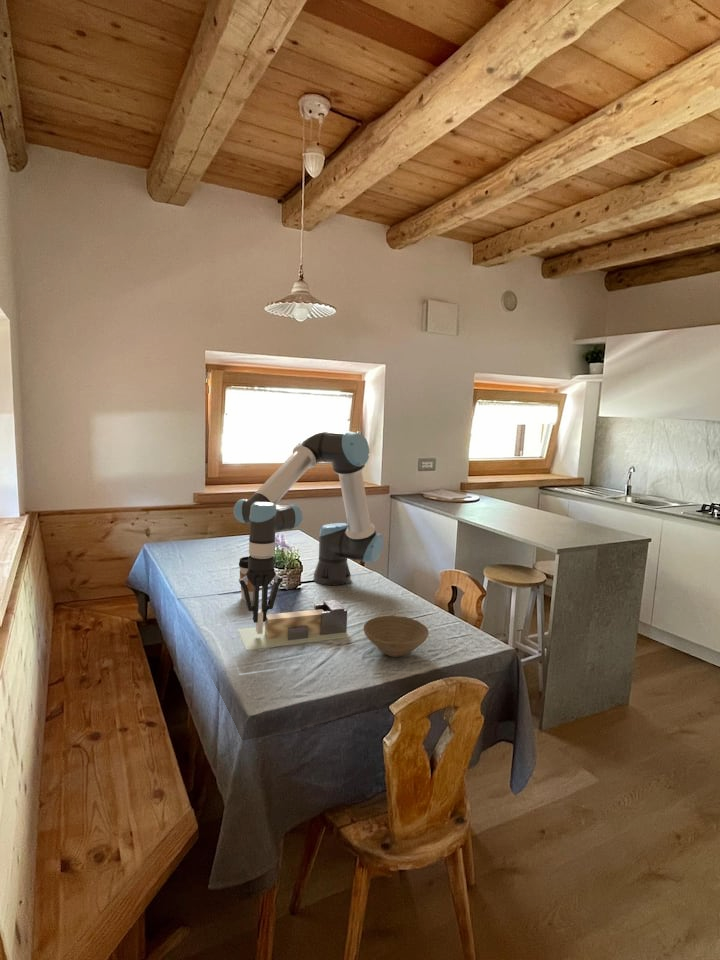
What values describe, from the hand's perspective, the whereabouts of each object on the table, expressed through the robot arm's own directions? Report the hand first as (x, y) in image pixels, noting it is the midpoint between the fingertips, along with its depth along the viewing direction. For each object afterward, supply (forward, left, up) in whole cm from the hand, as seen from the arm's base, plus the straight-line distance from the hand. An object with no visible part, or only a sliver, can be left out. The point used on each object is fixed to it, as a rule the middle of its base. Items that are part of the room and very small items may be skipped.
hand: (259, 631), depth 158 cm
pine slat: (-11, 0, -2) cm, 11 cm away
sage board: (-11, 0, -2) cm, 11 cm away
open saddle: (-11, 0, -2) cm, 11 cm away
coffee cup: (-4, -34, -2) cm, 34 cm away
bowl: (-35, +21, -2) cm, 41 cm away
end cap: (-22, 0, -2) cm, 22 cm away
